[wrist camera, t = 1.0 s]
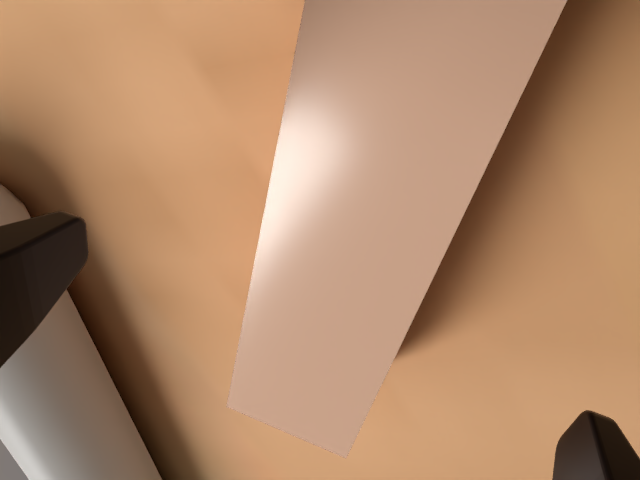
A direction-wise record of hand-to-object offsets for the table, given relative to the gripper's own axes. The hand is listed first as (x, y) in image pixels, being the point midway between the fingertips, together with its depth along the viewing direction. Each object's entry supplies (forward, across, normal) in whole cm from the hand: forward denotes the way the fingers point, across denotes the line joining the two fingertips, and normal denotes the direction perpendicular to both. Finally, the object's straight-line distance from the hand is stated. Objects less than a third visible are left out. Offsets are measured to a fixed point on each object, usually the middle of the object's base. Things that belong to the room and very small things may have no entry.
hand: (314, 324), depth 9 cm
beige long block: (+7, 0, 0) cm, 7 cm away
